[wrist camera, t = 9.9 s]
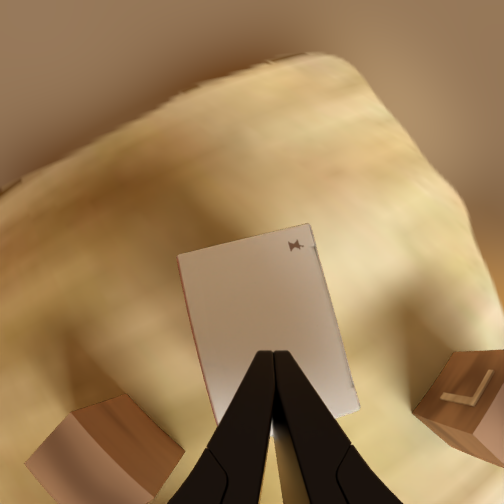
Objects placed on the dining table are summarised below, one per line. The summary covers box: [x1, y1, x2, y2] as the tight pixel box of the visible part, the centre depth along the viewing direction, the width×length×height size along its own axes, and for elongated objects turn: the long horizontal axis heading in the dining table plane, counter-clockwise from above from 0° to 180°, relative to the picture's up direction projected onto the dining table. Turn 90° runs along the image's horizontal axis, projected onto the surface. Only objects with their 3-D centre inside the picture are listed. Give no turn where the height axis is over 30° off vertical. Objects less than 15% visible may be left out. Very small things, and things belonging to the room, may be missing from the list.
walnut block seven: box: [412, 350, 504, 468], centre depth 16 cm, size 6×6×8 cm
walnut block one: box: [24, 394, 185, 504], centre depth 15 cm, size 6×6×8 cm
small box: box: [176, 223, 360, 437], centre depth 16 cm, size 8×6×10 cm
